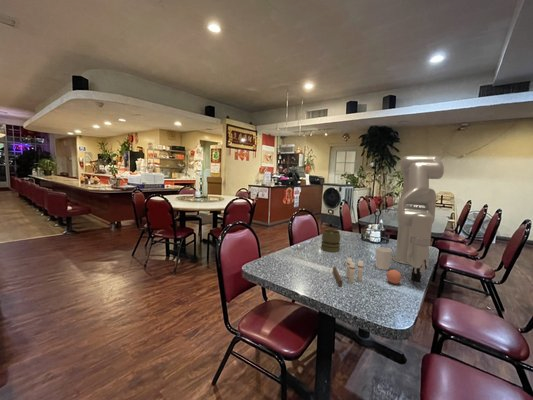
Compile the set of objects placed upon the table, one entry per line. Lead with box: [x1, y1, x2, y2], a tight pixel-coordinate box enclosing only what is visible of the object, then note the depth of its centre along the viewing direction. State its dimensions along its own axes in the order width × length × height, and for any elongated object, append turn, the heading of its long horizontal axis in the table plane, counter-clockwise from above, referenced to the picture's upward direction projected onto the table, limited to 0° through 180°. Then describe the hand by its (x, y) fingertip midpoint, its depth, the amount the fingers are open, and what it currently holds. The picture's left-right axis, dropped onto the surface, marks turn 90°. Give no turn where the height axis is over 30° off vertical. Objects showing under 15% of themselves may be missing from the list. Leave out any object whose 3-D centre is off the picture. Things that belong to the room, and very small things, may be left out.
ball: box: [386, 269, 403, 285], centre depth 109 cm, size 6×6×6 cm
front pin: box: [356, 260, 364, 282], centre depth 111 cm, size 2×2×9 cm
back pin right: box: [345, 257, 353, 279], centre depth 113 cm, size 2×2×9 cm
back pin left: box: [348, 261, 356, 284], centre depth 109 cm, size 2×2×9 cm
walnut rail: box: [332, 266, 343, 288], centre depth 112 cm, size 1×16×2 cm, turn 174°
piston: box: [321, 229, 341, 253], centre depth 156 cm, size 11×12×11 cm
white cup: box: [375, 246, 393, 271], centre depth 128 cm, size 8×8×10 cm
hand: (415, 281), depth 108 cm, fingers closed
